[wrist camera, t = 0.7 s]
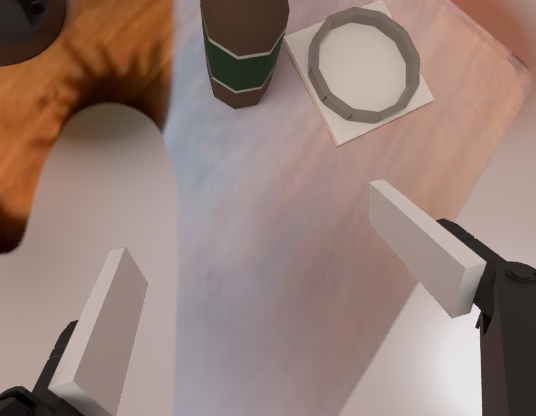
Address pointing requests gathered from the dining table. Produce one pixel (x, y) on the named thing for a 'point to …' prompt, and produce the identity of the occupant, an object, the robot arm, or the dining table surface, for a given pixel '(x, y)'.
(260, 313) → the dining table surface
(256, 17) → the beer bottle
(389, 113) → the ring plate
